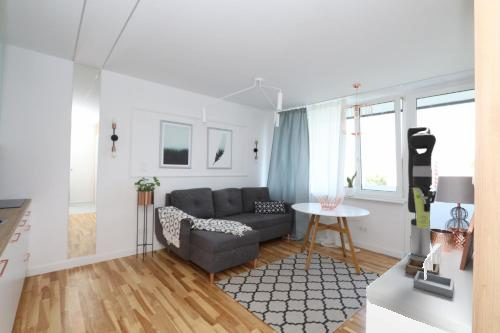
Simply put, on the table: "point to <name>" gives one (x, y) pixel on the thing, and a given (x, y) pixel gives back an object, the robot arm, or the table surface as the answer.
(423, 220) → the tube
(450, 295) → the tray
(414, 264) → the wooden picture frame
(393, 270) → the table surface
